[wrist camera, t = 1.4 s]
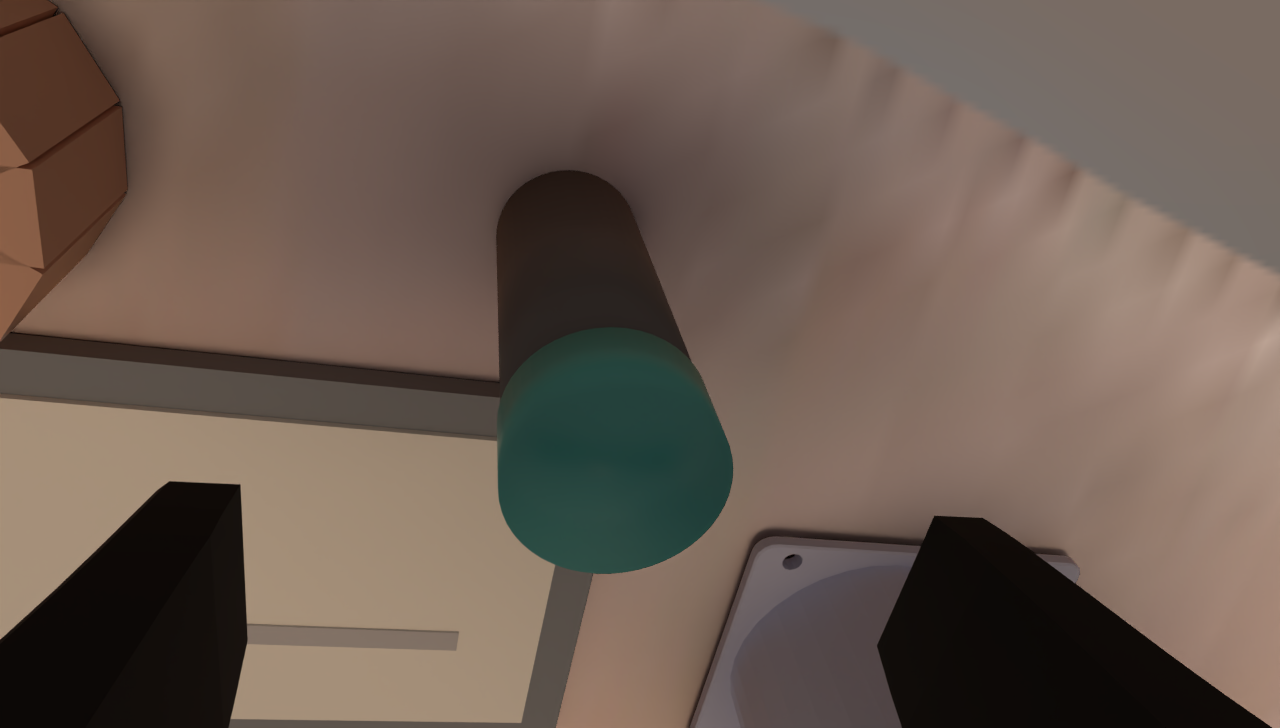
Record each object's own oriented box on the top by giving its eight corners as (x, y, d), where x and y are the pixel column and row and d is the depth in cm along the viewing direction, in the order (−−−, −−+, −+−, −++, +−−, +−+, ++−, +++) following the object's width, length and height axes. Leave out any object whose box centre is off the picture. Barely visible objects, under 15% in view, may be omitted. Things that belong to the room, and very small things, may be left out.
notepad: (629, 396, 20) (633, 416, 19) (550, 724, 25) (552, 749, 24) (-97, 322, 16) (-123, 343, 16) (-14, 716, 22) (-31, 745, 21)
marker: (652, 180, 17) (760, 396, 10) (622, 312, 19) (701, 579, 12) (504, 156, 17) (515, 371, 10) (485, 294, 18) (484, 567, 11)
